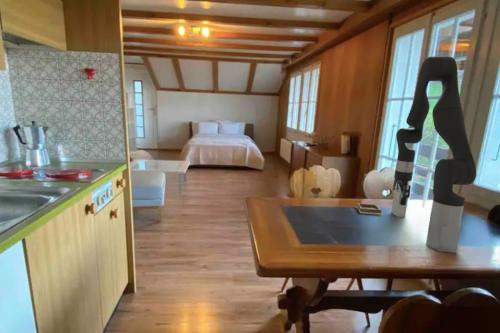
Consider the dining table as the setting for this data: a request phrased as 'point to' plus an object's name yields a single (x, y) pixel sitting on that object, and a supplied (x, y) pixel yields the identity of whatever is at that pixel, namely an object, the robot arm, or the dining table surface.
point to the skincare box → (398, 205)
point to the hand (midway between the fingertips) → (399, 202)
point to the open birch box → (368, 209)
